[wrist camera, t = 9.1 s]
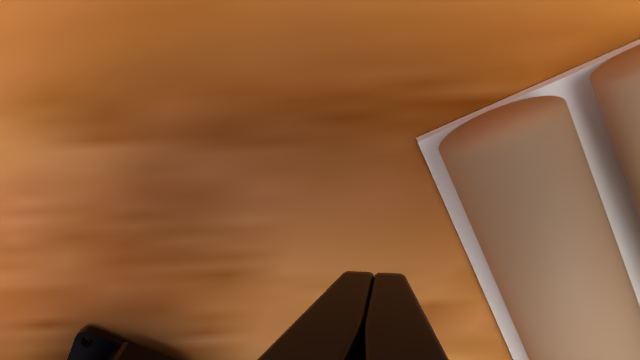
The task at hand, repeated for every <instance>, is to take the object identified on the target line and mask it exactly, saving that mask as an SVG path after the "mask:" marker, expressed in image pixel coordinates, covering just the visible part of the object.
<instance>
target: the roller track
mask: <svg viewBox="0 0 640 360" xmlns="http://www.w3.org/2000/svg"><path fill="white" fill-rule="evenodd" d="M416 140H417V142H418V145H419V147H420V149H421V152H422V154H423V156H424V158H425V161H426V163H427V165H428V167H429V170H430V172H431V174H432V176H433V179H434V181H435V183H436V185H437V188H438V190H439V192H440V195H441V197H442V199H443V201H444V204H445V206H446V208H447V210H448V213H449V215H450V217H451V219H452V222H453V224H454V226H455V229H456V231H457V233H458V235H459V238H460V240H461V242H462V244H463V247H464V249H465V251H466V253H467V256H468V258H469V260H470V262H471V265H472V267H473V269H474V272H475V274H476V276H477V278H478V281H479V283H480V285H481V287H482V290H483V292H484V294H485V296H486V299H487V301H488V303H489V305H490V308H491V310H492V312H493V315H494V317H495V319H496V321H497V324H498V326H499V328H500V330H501V333H502V335H503V337H504V339H505V342H506V344H507V346H508V349H509V351H510V353H511V355H512V358H513V360H640V39H638V40H636V41H634V42H631V43H629V44H627V45H625V46H622V47H620V48H618V49H616V50H613V51H611V52H609V53H607V54H604V55H602V56H600V57H598V58H595V59H593V60H591V61H588V62H586V63H584V64H582V65H579V66H577V67H575V68H573V69H570V70H568V71H566V72H564V73H561V74H559V75H557V76H554V77H552V78H550V79H548V80H545V81H543V82H541V83H539V84H536V85H534V86H532V87H530V88H527V89H525V90H523V91H521V92H518V93H516V94H514V95H511V96H509V97H507V98H505V99H502V100H500V101H498V102H496V103H493V104H491V105H489V106H487V107H484V108H482V109H480V110H478V111H475V112H473V113H471V114H468V115H466V116H464V117H462V118H459V119H457V120H455V121H453V122H450V123H448V124H446V125H444V126H441V127H439V128H437V129H435V130H432V131H430V132H428V133H425V134H423V135H421V136H419V137H416Z"/></svg>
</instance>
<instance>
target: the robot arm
mask: <svg viewBox="0 0 640 360" xmlns="http://www.w3.org/2000/svg"><path fill="white" fill-rule="evenodd" d="M85 337H90V338H91V339H92V340H93V342H89V341H88V340H86V338H85ZM67 360H175V359H173V358H170V357H168V356H165V355H163V354H160V353H158V352H155V351H153V350H150V349H148V348H146V347H143V346H141V345H138V344H136V343H133V342H131V341H128V340H126V339H123V338H121V337H118V336H116V335H113V334H111V333H108V332H106V331H103V330H101V329H99V328H96V327H93V326H86V327H84V328H82V329H81V330H80V332H79V333H78V334H77V336H76V337H75V340H74V343H73V345H72V348H71V351H70V353H69V356H68V359H67ZM258 360H448V358H447V356H446V354H445V352H444V350H443V348H442V346H441V344H440V342H439V340H438V338H437V337H436V335H435V333H434V331H433V329H432V327H431V325H430V323H429V321H428V319H427V317H426V316H425V314H424V312H423V310H422V308H421V306H420V304H419V302H418V300H417V298H416V296H415V294H414V293H413V291H412V289H411V287H410V285H409V283H408V281H407V279H406V277H405V276H404V275H403V274H397V273H377V274H376V275H375V276H373V274H372V273H370V272H355V271H347V272H345V273H343V274H342V275H341V276H340V277H339V278H338V279H337V280H336V281H335V282H334V283H333V284H332V285H331V286H330V287H329V288H328V289H327V290H326V291H325V292H324V293H323V294H322V295H321V296H320V297H319V298H318V299H317V300H316V301H315V302H314V303H313V304H312V305H311V306H310V307H309V308H308V309H307V310H306V311H305V312H304V313H303V314H302V315H301V316H300V317H299V318H298V319H297V320H296V321H295V322H294V323H293V324H292V325H291V326H290V327H289V329H288V330H287V331H286V332H285V333H284V334H283V335H282V336H281V337H280V338H279V339H278V340H277V341H276V342H275V343H274V344H273V345H272V346H271V347H270V348H269V349H268V350H267V351H266V352H265V353H264V354H263V355H262V356H261V357H260V358H259V359H258Z"/></svg>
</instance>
